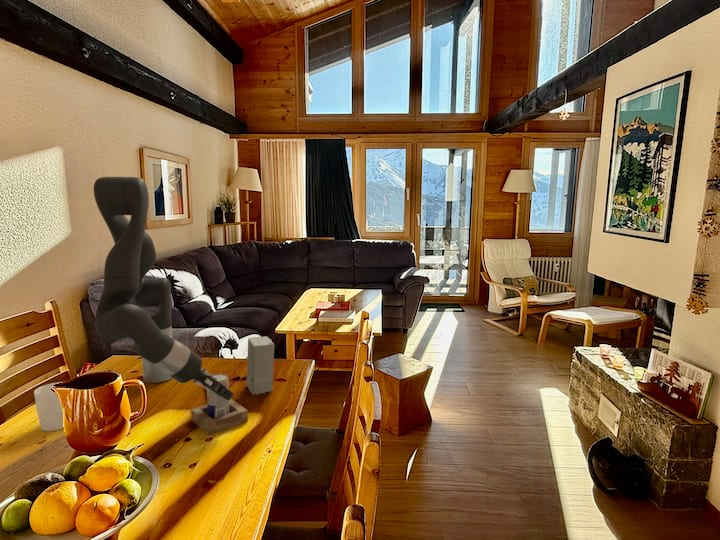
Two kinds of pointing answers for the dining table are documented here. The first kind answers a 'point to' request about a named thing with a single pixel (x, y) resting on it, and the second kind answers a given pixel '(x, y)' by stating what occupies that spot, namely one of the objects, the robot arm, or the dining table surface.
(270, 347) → the skincare box
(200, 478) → the dining table surface
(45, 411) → the white cup
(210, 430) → the square open tray
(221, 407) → the energy drink
